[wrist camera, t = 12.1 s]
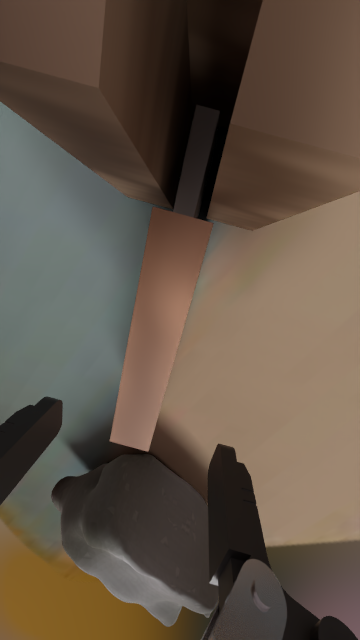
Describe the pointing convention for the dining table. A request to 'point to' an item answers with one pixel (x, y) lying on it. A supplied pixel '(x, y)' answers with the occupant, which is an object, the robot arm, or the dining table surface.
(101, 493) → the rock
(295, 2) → the slotted tan block
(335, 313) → the dining table surface
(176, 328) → the bed rail
